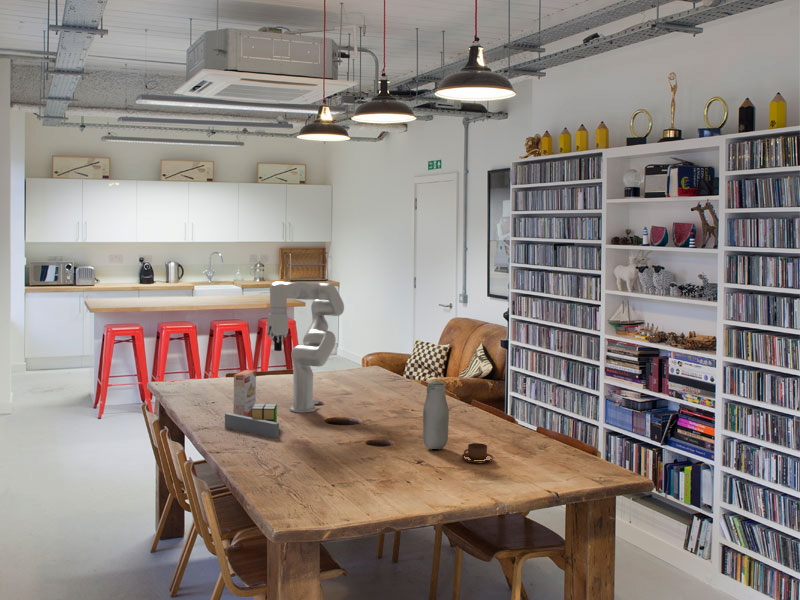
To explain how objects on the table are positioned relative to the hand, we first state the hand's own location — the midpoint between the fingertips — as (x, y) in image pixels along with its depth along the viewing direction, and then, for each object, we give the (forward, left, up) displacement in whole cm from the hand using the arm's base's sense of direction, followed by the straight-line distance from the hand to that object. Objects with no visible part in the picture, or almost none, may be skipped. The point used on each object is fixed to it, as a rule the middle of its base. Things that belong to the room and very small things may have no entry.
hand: (277, 350), depth 377 cm
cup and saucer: (0, +106, -32) cm, 110 cm away
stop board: (+24, +7, -32) cm, 41 cm away
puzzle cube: (+16, +7, -32) cm, 37 cm away
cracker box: (+5, -16, -32) cm, 36 cm away
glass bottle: (-3, +84, -32) cm, 90 cm away
